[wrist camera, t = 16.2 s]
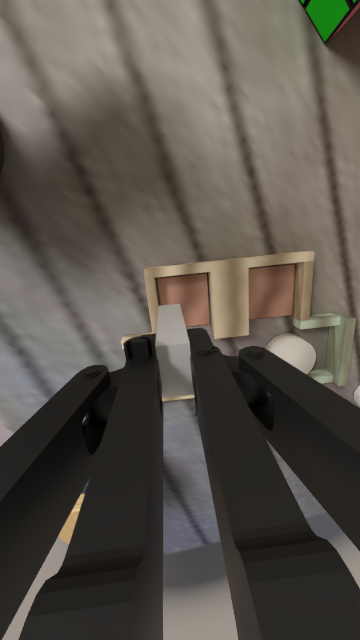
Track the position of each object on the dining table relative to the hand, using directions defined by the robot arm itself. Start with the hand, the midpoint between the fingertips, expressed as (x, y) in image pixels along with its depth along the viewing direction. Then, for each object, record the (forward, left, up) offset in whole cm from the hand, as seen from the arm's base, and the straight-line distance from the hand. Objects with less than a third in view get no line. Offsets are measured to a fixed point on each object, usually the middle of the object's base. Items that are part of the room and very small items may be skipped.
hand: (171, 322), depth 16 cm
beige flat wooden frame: (+10, -10, -23) cm, 27 cm away
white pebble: (+20, -16, -23) cm, 35 cm away
